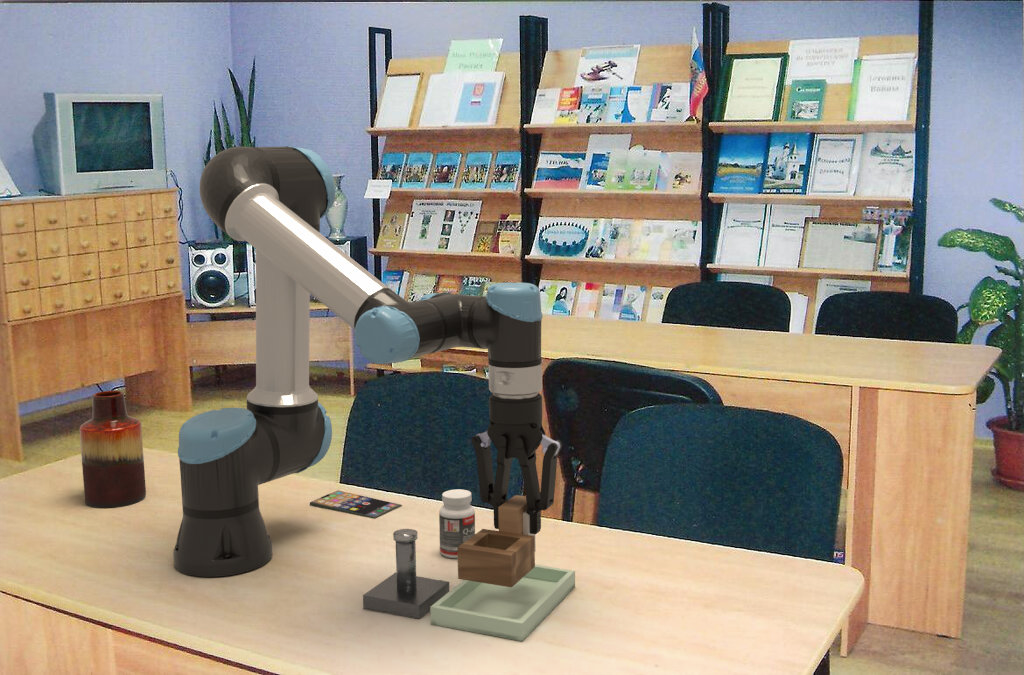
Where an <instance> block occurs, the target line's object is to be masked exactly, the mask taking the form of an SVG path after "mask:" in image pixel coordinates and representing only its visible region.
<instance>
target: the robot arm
mask: <svg viewBox="0 0 1024 675" xmlns="http://www.w3.org/2000/svg"><path fill="white" fill-rule="evenodd" d="M199 196H200V197H199V198H200V201H201V204H202V206H203V209H204V210H205V212H206V214H207V216H208V217H209V218H210V220H212V222H214V224H215V225H216V226H217V227H218V228H219V229H220V230H221V231H222V232H224V233H225V234H227V235H228V236H229V238H231V240H234V241H237V242H247V244H249V245H250V246H252V247H253V248H254V249H255V364H256V365H255V387H254V388H253V389H252V390H250V392H249V393H248V394H247V395H246V408H242V407H224V408H220V409H211V410H208V411H204V412H202V413H198V414H196V415H194V416H192V417H190V418H189V419H187V420H186V421H185V422H184V423H183V424H182V425H181V427H180V429H179V431H178V448H177V457H178V459H179V471H180V485H181V487H180V489H181V504H182V506H181V507H182V519H181V522H180V526H179V529H178V533H177V538H176V543H175V546H174V548H173V564H174V567H175V569H176V570H177V571H179V572H180V573H182V574H184V575H189V576H195V577H204V578H205V577H207V578H208V577H209V578H211V577H212V578H213V577H217V578H218V577H227V576H235V575H239V574H243V573H247V572H250V571H253V570H255V569H258V568H261V567H262V566H264V565H266V564H268V562H270V561H271V559H272V558H273V554H274V553H273V541H272V538H271V536H270V534H269V532H268V530H267V527H266V524H265V522H264V519H263V516H262V513H261V510H260V504H259V503H260V502H259V486H260V485H263V484H266V483H270V482H272V481H274V480H279V479H281V478H283V477H287V476H290V475H293V474H299V473H301V472H304V471H306V470H307V469H308V468H311V467H313V466H315V465H317V464H318V463H320V462H321V461H322V460H323V459H324V457H325V456H326V455H327V453H328V451H329V450H330V447H331V444H332V438H333V428H332V427H333V426H332V420H331V418H330V415H329V416H327V413H328V412H327V409H326V408H325V407H324V406H323V405H322V403H320V401H319V394H318V393H317V392H315V390H314V389H312V388H311V386H310V315H311V314H310V312H311V311H310V310H311V306H310V305H311V303H310V302H311V301H310V300H311V299H310V297H311V296H313V297H314V298H315V299H316V300H317V301H318V302H320V303H321V304H323V306H325V307H326V308H327V309H328V310H330V311H331V312H332V313H333V314H335V315H336V316H337V317H338V318H339V319H340V320H342V321H343V322H344V323H346V324H347V325H348V326H349V327H350V328H352V329H353V330H354V340H355V343H356V344H355V345H356V346H357V347H358V348H359V350H360V353H361V355H362V356H363V357H364V358H365V359H366V360H367V361H369V362H371V363H373V364H377V365H387V364H397V363H402V362H406V361H408V360H410V359H414V358H417V357H422V356H425V355H430V354H434V353H439V352H442V351H447V350H449V349H453V348H454V349H455V348H470V349H471V348H472V349H480V350H487V358H488V390H489V391H490V392H491V394H490V395H489V397H488V410H489V411H488V412H489V413H488V416H489V425H488V428H487V430H486V431H484V432H479V433H477V434H475V435H473V436H472V437H471V438H470V442H471V444H472V447H473V449H474V451H475V455H476V465H477V475H478V485H479V495H480V500H481V502H482V503H484V504H486V503H487V504H488V505H490V506H492V509H493V526H494V530H499V515H498V507H499V506H501V505H502V504H504V503H505V502H506V501H508V500H509V499H510V498H508V492H509V486H510V485H509V484H510V477H511V471H512V470H511V469H512V462H513V460H514V459H517V460H518V465H519V467H520V469H521V474H522V481H523V482H522V483H523V487H524V494H525V495H524V496H526V501H527V507H528V510H526V511H525V512H524V513H523V534H524V535H531V536H535V537H536V535H537V534H538V533H539V532H541V529H542V511H546V510H548V509H549V508H550V507H551V506H553V504H554V502H555V491H556V490H555V489H556V479H557V478H556V476H557V465H558V464H557V463H558V456H559V453H560V451H561V449H562V446H563V442H562V440H560V439H555V440H554V439H552V438H550V437H549V436H548V435H546V431H545V429H544V426H543V395H542V394H541V393H540V392H542V390H543V371H542V370H543V366H542V321H543V320H542V319H543V312H542V304H541V303H542V302H541V292H540V289H539V287H538V286H537V285H535V284H533V283H530V282H498V283H497V282H496V283H493V284H490V285H489V286H488V288H487V290H486V295H483V296H481V295H471V294H470V295H468V294H459V293H458V294H456V293H451V292H445V291H444V292H437V293H435V292H433V293H431V292H430V293H426V294H424V295H423V296H422V297H421V298H420V299H419V300H415V301H407V300H406V299H404V298H403V297H402V296H400V295H399V294H398V293H397V292H395V291H394V290H393V289H391V288H389V286H387V285H386V284H384V282H382V281H381V280H380V279H378V278H377V277H376V276H374V275H373V274H372V273H371V272H369V271H368V269H366V268H364V267H363V266H362V265H360V264H359V263H358V262H357V261H355V259H353V258H352V257H351V256H349V255H348V254H347V253H346V252H344V251H343V250H342V249H340V247H338V246H337V245H335V244H334V243H333V242H332V241H330V240H329V239H328V238H326V237H325V235H323V234H322V233H321V229H320V228H321V227H320V226H321V225H320V224H321V221H320V220H321V219H323V217H324V216H325V217H326V215H328V214H329V211H330V209H332V207H333V205H334V203H335V198H336V184H335V180H334V175H333V173H332V171H331V169H330V167H329V165H328V164H327V163H326V162H324V159H323V157H322V156H320V155H319V154H318V153H316V152H315V151H313V150H311V149H307V148H302V147H295V146H290V145H288V146H286V145H285V146H233V147H228V148H225V149H224V150H222V151H219V152H218V153H217V154H215V155H214V156H212V158H211V159H210V160H209V161H208V162H207V164H206V165H205V167H204V169H203V171H202V173H201V176H200V179H199ZM491 444H493V446H494V447H495V448H496V451H497V452H496V459H495V461H496V462H495V463H496V471H495V476H494V468H493V459H492V457H493V456H492V450H491ZM540 446H542V453H543V454H544V455H543V457H542V458H543V459H542V465H541V466H542V468H541V481H540V480H539V477H538V470H537V463H536V462H537V453H536V452H537V449H539V447H540ZM494 477H495V479H494ZM539 481H540V482H541V483H540V482H539ZM536 550H537V549H536V544H535V552H536Z"/></svg>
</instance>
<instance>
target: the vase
mask: <svg viewBox="0 0 1024 675" xmlns="http://www.w3.org/2000/svg"><path fill="white" fill-rule="evenodd" d="M79 440H80V442H79V443H80V451H81V452H80V453H81V467H82V468H81V469H82V478H83V479H82V480H83V492H84V502H85V504H86V505H87V506H88V507H91V508H98V509H99V508H101V509H111V508H114V509H115V508H122V507H126V506H130V505H134V504H136V503H140V502H141V501H143V500H145V498H146V495H147V489H146V488H147V487H146V476H145V461H144V460H145V458H144V457H145V456H144V445H143V443H144V442H143V430H142V422H141V421H140V419H138V418H136V417H134V416H130V415H128V411H127V405H126V400H125V393H124V391H121V390H104V391H98V392H95V393H93V394H92V418H91V419H89V420H87V421H85V422H84V423H82V424H81V425H80V427H79Z"/></svg>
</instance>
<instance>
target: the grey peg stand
mask: <svg viewBox="0 0 1024 675" xmlns="http://www.w3.org/2000/svg"><path fill="white" fill-rule="evenodd" d="M392 536H393V541H395V564H396V565H395V566H396V567H395V568H396V570H395V572H394V573H392V575H390V576H388V577H387V578H385V579H384V580H383V581H381V582H380V583H378V584H377V585H375V586H374V587H373V588H371V589H370V590H368V591H367V592H365V593H364V594H363V595H362V603H363V604H362V606H363V609H364V610H368V611H374V612H379V613H386V614H390V615H394V616H395V615H396V616H401V617H405V618H412V619H417V620H421V619H422V618H423V617H424V616H425V615H427V614H428V613H430V612H431V609H430V607H431V606H432V605H433V604H435V603H436V602H437V601H438V600H440V599H441V598H442V597H443V596H444V595H446V594H447V593H448V592H449V591H450V581H445V580H441V579H434V578H429V577H424V576H418V575H417V557H416V556H417V554H416V552H417V550H416V545H417V544H416V540H417V539H418V531H417V529H412V528H400V529H397V530H394V531H393V534H392Z"/></svg>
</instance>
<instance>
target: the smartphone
mask: <svg viewBox="0 0 1024 675" xmlns="http://www.w3.org/2000/svg"><path fill="white" fill-rule="evenodd" d="M309 506H311V507H314V508H320V509H325V510H330V511H335V512H338V513H344V514H349V515H354V516H359V517H365V518H367V519H368V518H369V519H374V520H376V519H377V518H380V517H382V516H384V515H386V514H388V513H391V512H393V511H395V510H397V509H399V508H402V506H403V505H402V504H399V503H396V502H391V501H385V500H383V499H382V500H381V499H378V498H374V497H368V496H366V495H365V496H364V495H361V494H356V493H351V492H347V491H342V490H340V489H339V490H338V489H337V490H336V491H333V492H330V493H328V494H325V495H323V496H321V497H320V498H317V499H314V500H312V501H310V502H309Z"/></svg>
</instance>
